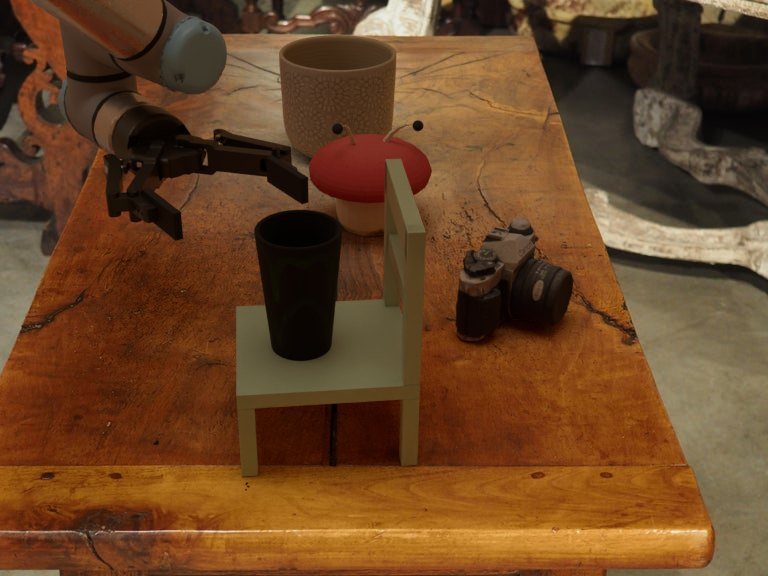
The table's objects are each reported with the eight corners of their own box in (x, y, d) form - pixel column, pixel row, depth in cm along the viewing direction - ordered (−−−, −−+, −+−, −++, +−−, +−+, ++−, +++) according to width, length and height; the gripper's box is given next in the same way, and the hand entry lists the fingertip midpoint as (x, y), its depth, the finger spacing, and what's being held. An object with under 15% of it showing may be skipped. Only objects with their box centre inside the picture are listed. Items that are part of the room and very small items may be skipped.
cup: (335, 318, 103) (334, 206, 97) (350, 362, 97) (350, 244, 91) (255, 326, 102) (249, 212, 96) (264, 371, 95) (259, 252, 89)
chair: (241, 477, 96) (225, 240, 84) (240, 381, 109) (226, 164, 97) (417, 465, 98) (426, 231, 86) (396, 372, 111) (401, 158, 99)
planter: (317, 182, 152) (315, 78, 144) (262, 143, 164) (258, 45, 157) (416, 158, 160) (419, 58, 152) (357, 122, 172) (357, 28, 165)
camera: (531, 364, 113) (539, 281, 108) (444, 337, 117) (448, 256, 112) (584, 299, 125) (594, 222, 120) (503, 276, 129) (510, 201, 124)
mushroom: (324, 258, 132) (322, 145, 125) (298, 204, 146) (295, 99, 138) (445, 244, 136) (450, 133, 129) (409, 193, 149) (412, 90, 142)
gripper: (246, 145, 123) (352, 211, 109) (35, 197, 110) (124, 280, 96) (243, 82, 120) (353, 142, 105) (24, 128, 107) (115, 204, 92)
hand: (244, 208), depth 100 cm, fingers open, 13 cm apart
